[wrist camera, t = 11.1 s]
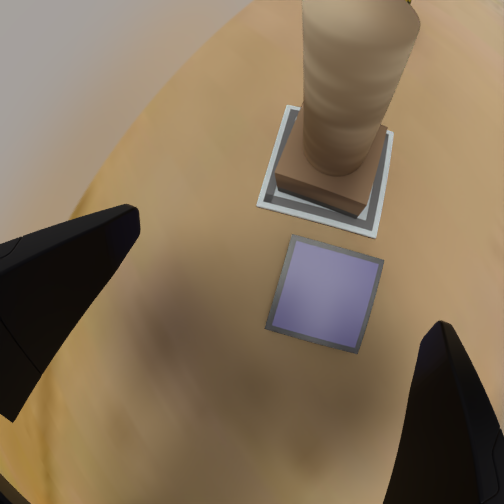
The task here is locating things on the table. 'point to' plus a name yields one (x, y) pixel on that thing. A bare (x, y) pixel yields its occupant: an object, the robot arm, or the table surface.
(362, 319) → the ink pad
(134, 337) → the table surface
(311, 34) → the stamp
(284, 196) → the white flat square
